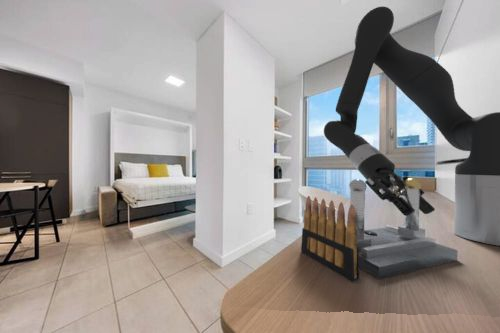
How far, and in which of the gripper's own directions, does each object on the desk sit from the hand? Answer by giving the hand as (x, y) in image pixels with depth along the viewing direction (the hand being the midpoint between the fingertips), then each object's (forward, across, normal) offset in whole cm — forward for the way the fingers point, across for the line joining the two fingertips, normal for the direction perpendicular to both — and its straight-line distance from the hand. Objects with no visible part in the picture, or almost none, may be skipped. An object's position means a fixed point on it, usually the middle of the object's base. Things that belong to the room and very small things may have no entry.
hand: (420, 212), depth 37 cm
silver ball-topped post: (+2, -17, +7) cm, 19 cm away
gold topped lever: (+2, 0, +7) cm, 7 cm away
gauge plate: (+5, -9, +7) cm, 12 cm away
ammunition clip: (+5, -25, +7) cm, 26 cm away
